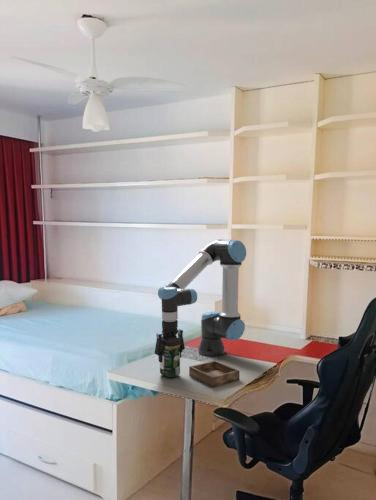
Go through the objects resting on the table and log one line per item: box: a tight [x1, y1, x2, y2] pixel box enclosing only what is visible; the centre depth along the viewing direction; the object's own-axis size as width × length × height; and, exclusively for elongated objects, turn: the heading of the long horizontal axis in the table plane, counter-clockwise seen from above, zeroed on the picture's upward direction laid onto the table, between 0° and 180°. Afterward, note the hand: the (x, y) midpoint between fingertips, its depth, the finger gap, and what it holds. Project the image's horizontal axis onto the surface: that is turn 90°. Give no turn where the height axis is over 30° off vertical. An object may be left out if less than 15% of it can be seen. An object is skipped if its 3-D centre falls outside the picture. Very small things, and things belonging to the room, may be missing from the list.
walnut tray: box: [188, 360, 240, 389], centre depth 192 cm, size 16×18×4 cm
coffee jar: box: [159, 335, 181, 378], centre depth 194 cm, size 10×8×19 cm
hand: (170, 366), depth 194 cm, fingers closed on coffee jar, 8 cm apart
